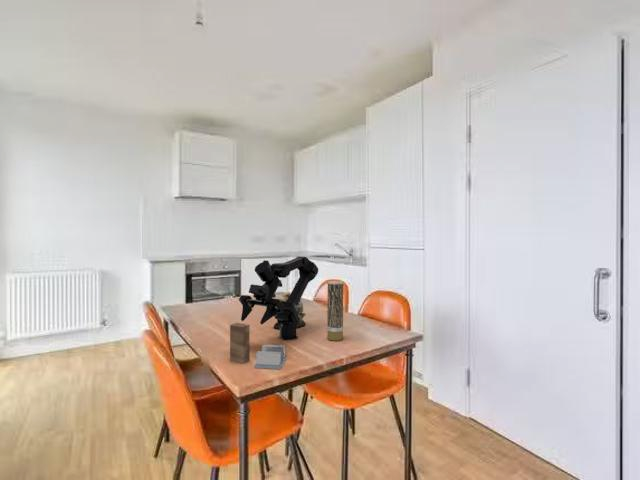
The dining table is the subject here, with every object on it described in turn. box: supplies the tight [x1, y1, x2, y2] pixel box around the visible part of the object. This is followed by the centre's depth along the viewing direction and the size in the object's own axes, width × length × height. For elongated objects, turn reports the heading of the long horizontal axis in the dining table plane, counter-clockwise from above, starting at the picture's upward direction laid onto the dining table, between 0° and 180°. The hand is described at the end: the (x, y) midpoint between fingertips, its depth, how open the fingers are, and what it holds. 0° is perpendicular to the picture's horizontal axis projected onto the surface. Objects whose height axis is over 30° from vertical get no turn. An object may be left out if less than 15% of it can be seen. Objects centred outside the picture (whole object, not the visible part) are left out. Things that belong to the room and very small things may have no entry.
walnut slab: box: [229, 322, 251, 364], centre depth 126 cm, size 4×6×13 cm, turn 62°
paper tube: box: [326, 280, 344, 342], centre depth 152 cm, size 7×7×25 cm
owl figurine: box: [273, 291, 306, 331], centre depth 172 cm, size 18×12×17 cm, turn 131°
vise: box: [254, 344, 287, 370], centre depth 126 cm, size 14×9×5 cm, turn 174°
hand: (251, 322), depth 131 cm, fingers open, 9 cm apart
